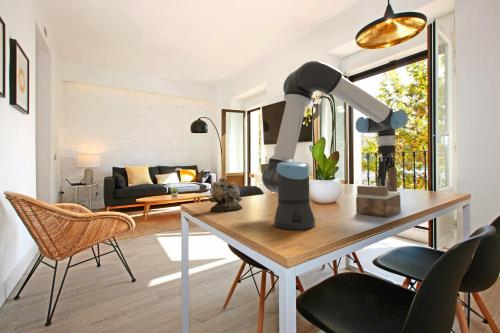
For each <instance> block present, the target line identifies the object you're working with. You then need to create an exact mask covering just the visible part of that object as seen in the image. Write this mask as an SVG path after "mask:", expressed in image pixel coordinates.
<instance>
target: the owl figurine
mask: <svg viewBox="0 0 500 333" xmlns="http://www.w3.org/2000/svg"><path fill="white" fill-rule="evenodd" d="M211 188H212V190H211V196H210V197H208V200H209V202H210V203H215V204H214V205H213V206H211V208H210V209H211V210H210V209H209V212H212V213H217V214H218V213H219V214H221V213H232V212H237V211H239V210H240V211H241V210H242V209H243V206H242V205H241V204H239V203H240V202H241V201H243V197H240V193H241V192H240V188H239V187H238V184H237V182H236V181H231V182H230V183H229V184H228V178H227V177H225V176H221V177H219V179H218V180H216V181H213V183H212V185H211Z"/></svg>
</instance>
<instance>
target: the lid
mask: <svg viewBox="0 0 500 333" xmlns="http://www.w3.org/2000/svg"><path fill="white" fill-rule="evenodd" d="M397 195H400V196H401V191H397V192H393V191H388V187H378V186H377V185H375V186H374V185H373V186H372V185H357V186H356V196H355V198H357V197H360V198H372V199H385V200H386V199H388V198H391V197H394V196H397Z"/></svg>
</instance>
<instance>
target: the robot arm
mask: <svg viewBox="0 0 500 333" xmlns="http://www.w3.org/2000/svg"><path fill="white" fill-rule="evenodd" d="M282 89H283V90H282V91H283V93H284V96H283V100H284V101H285V102H286V103H285V107H284V111H283V115H282V119H281V123H280V128H279V131H278V135H277V140H276V145H275V149H274V152H273V155H272V156H271V157H269V158H268V162H267V166H266V167H265V168H264V169H263V170H262V174H261V182H262V185H263V186H264V187H265V188H266V189H267V190H268V191H270V192H271V193H275V194H277V207H276V212H275V215H274V218H273V226H274V227H276V228H278V229H283V230H288V231H289V230H291V231H301V230H308V229H312V228H314V227H315V226H316V218H315V216H314V212H313V209H312V206H311V204H310V203H311V201H310V199H311V198H310V195H311V194H310V170H309V165H308V164H306V163H305V162H301V161H295V159H294V158H295V153H296V152H297V146H298V142H299V138H300V133H301V131H302V130H301V129H302V124H303V120H304V116H305V111H306V107H307V106H308V105H310V104H311V102H312V98H313V94H314V93H315V92H321V93H323V94H325V95H327V96H328V95H331V96H334V97H335V98H336V99H338V100H339V101H341V102H343V103H344V104H346V105H348V106H349V107H351V108H353V109H355V111H357V112H359V113H361V114H362V115H364V116H360V117H358V118H357V120H356V121H355V129H356V131H357V132H358V133H361V134H362V133H363V134H377V145H378V146H377V154H381V156H378V169H377V170H378V171H377V176H378V179H380V187H387V182H388V183H389V176H388V170H389V168H392V167H396V166H395V156H392V155H393V154H395V153H396V152H397V151H396V149H397V147H396V140H397V137H396V130H397V129H401V128H404V127H405V126H406V125H407V123H408V122H409V116H408V113H407V112H406V110H404V109H392V108H391V107H389V106H388V105H386V104H385V103H383V102H382V101H380V100H378V99H377V98H376V97H374V96H373V95H371V94H370V93H368V92H367V91H365V90H364V89H362V88H361V87H359V86H358V85H357V84H355V83H354V82H351V81H350V80H349V79H347V78H345V77H344V76H343V72H342V71H340V70H339V69H337V68H335V67H334V66H332V65H330V64H328V63H325V62H322V61H317V60H312V61H307V62H305V63H303V64H302V65H301V66H300V67H298V68H297V69H295V70H294V71H293V72H291V73H290V74H288V76H287V77H286V79H284V82H283V88H282ZM388 191H389V190H388Z"/></svg>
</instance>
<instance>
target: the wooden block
mask: <svg viewBox="0 0 500 333" xmlns="http://www.w3.org/2000/svg"><path fill="white" fill-rule="evenodd" d="M388 176H389V177H388ZM387 177H388V178H389V183H388V181H387V187H388V190H389V191H393V192H398V168H397V167H396V166H395V167H392V168H389V170H388V173H387ZM376 186H378V187H380V179H378V175H377V176H376Z"/></svg>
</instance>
